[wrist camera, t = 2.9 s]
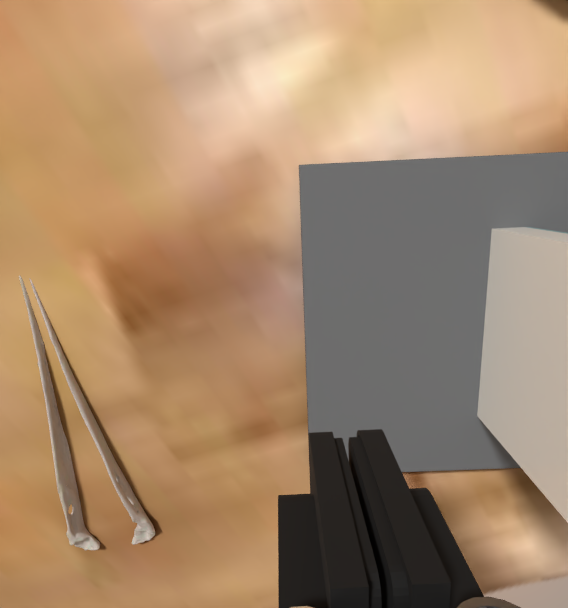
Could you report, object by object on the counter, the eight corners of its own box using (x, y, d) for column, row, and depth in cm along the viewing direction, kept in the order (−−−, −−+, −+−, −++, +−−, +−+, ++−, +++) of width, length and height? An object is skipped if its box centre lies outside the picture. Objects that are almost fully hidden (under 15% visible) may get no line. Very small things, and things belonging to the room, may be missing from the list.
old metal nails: (164, 528, 24) (151, 556, 22) (84, 539, 24) (65, 568, 22) (75, 216, 21) (51, 216, 19) (-15, 235, 21) (-48, 238, 19)
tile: (529, 226, 18) (746, 259, 10) (510, 414, 21) (672, 577, 12) (491, 228, 18) (674, 262, 10) (477, 415, 21) (614, 578, 12)
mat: (820, 140, 18) (837, 138, 17) (739, 452, 22) (752, 459, 21) (299, 165, 18) (299, 165, 18) (309, 467, 22) (310, 475, 22)
